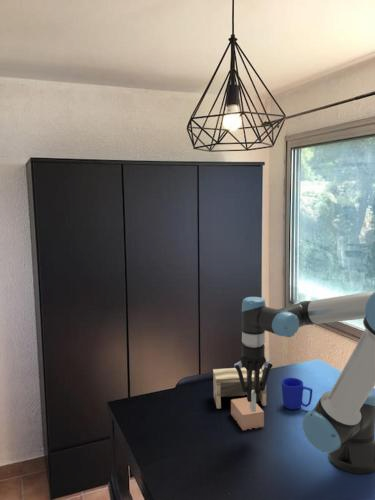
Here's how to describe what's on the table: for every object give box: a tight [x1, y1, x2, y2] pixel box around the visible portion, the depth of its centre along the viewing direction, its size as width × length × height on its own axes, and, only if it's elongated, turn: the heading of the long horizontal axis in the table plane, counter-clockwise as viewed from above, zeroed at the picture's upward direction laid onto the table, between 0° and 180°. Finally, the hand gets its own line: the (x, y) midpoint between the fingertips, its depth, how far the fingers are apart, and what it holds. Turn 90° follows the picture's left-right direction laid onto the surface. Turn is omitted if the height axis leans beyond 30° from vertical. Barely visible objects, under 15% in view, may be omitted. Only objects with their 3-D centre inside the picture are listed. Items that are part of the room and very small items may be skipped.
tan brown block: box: [230, 396, 265, 431], centre depth 161 cm, size 12×8×6 cm, turn 15°
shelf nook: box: [212, 367, 267, 409], centre depth 176 cm, size 11×20×12 cm, turn 94°
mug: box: [280, 377, 313, 410], centre depth 169 cm, size 8×12×10 cm
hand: (252, 409), depth 149 cm, fingers closed
